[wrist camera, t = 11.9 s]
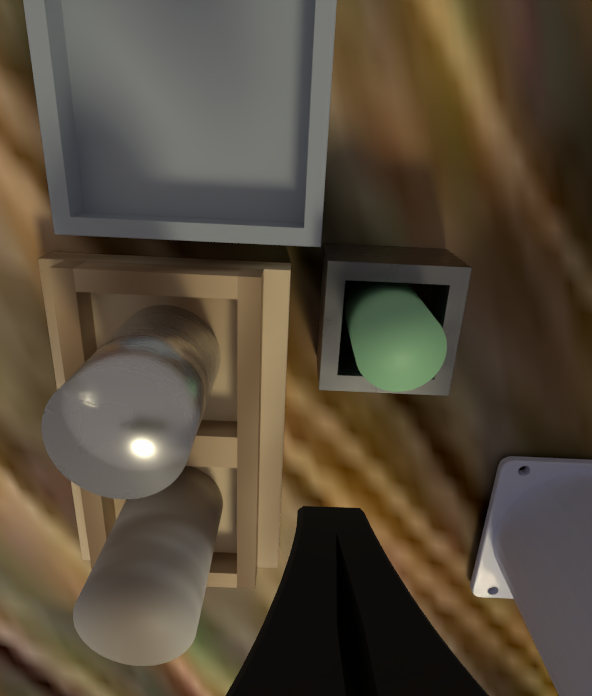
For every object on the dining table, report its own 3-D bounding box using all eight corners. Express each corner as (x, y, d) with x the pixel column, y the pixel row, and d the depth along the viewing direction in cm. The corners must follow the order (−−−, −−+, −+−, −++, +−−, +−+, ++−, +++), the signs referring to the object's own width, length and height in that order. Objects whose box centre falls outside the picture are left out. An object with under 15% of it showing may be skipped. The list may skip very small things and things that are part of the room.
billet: (221, 309, 19) (190, 377, 13) (219, 405, 20) (190, 503, 14) (112, 301, 18) (33, 366, 13) (118, 398, 20) (49, 494, 14)
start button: (421, 274, 19) (453, 309, 15) (412, 344, 20) (439, 393, 16) (347, 271, 19) (359, 304, 15) (341, 341, 20) (350, 389, 16)
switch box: (446, 249, 19) (471, 267, 16) (428, 361, 21) (448, 395, 18) (323, 243, 19) (328, 260, 16) (316, 356, 21) (318, 389, 18)
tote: (337, -60, 15) (342, -85, 14) (319, 237, 19) (321, 246, 17) (41, -76, 15) (9, -103, 14) (76, 225, 19) (54, 234, 17)
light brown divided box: (291, 262, 19) (285, 327, 12) (278, 548, 24) (270, 701, 18) (53, 251, 19) (-81, 310, 12) (92, 540, 24) (14, 691, 18)
